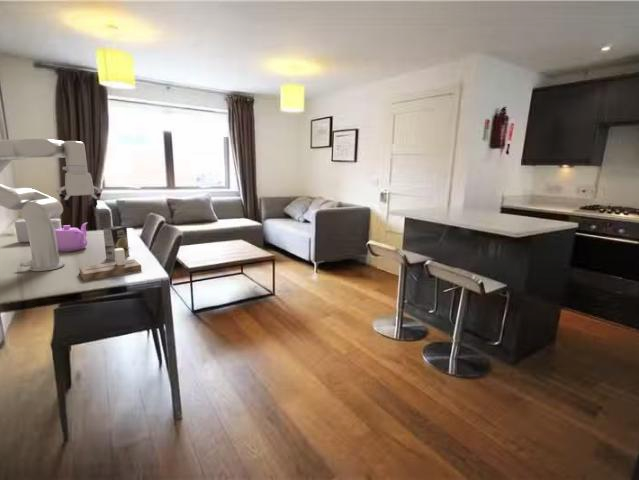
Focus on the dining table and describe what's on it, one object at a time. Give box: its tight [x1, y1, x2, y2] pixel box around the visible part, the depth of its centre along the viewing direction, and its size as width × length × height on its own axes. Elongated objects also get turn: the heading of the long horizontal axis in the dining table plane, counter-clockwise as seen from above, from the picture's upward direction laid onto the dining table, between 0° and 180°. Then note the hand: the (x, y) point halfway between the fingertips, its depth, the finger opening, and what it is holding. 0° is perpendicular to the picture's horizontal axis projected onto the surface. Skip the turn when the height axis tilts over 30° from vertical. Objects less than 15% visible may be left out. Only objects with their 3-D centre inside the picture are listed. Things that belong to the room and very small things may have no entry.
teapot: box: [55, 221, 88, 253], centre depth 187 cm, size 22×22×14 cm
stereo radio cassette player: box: [14, 218, 63, 243], centre depth 201 cm, size 21×8×20 cm, turn 114°
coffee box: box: [102, 225, 130, 261], centre depth 172 cm, size 9×6×16 cm
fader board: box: [78, 258, 142, 282], centre depth 150 cm, size 22×12×3 cm, turn 133°
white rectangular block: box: [114, 248, 126, 266], centre depth 152 cm, size 3×4×7 cm
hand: (82, 207), depth 151 cm, fingers open, 9 cm apart
